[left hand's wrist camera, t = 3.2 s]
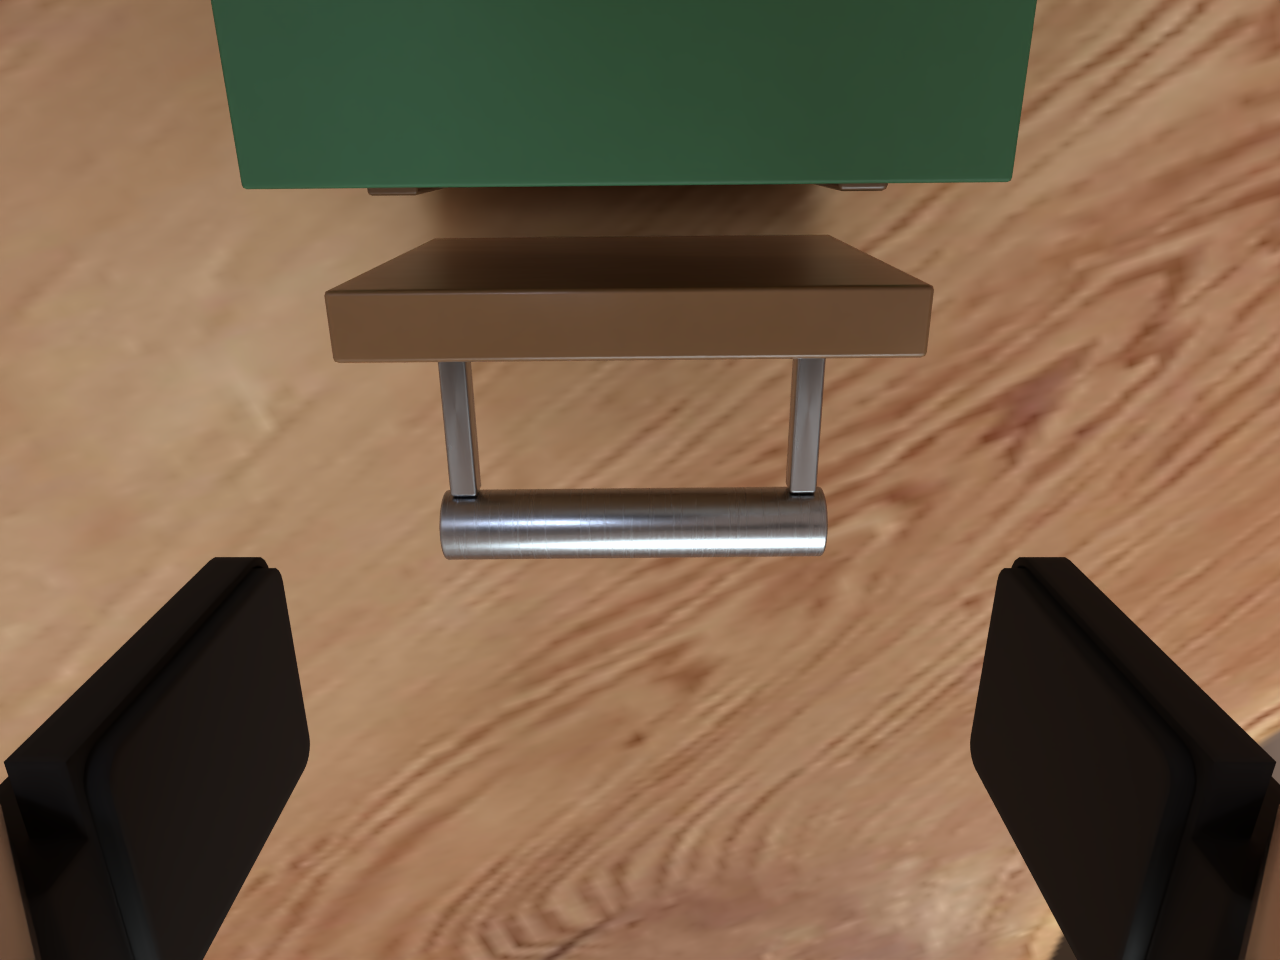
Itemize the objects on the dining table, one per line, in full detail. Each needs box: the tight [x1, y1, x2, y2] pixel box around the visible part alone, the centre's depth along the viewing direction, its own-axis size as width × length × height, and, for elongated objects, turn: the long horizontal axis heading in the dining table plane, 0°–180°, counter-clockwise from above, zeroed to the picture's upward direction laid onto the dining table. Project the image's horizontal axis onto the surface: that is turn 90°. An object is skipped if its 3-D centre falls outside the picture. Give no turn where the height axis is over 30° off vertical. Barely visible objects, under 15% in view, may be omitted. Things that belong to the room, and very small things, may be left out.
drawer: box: [325, 183, 934, 560], centre depth 16 cm, size 20×10×8 cm, turn 0°
